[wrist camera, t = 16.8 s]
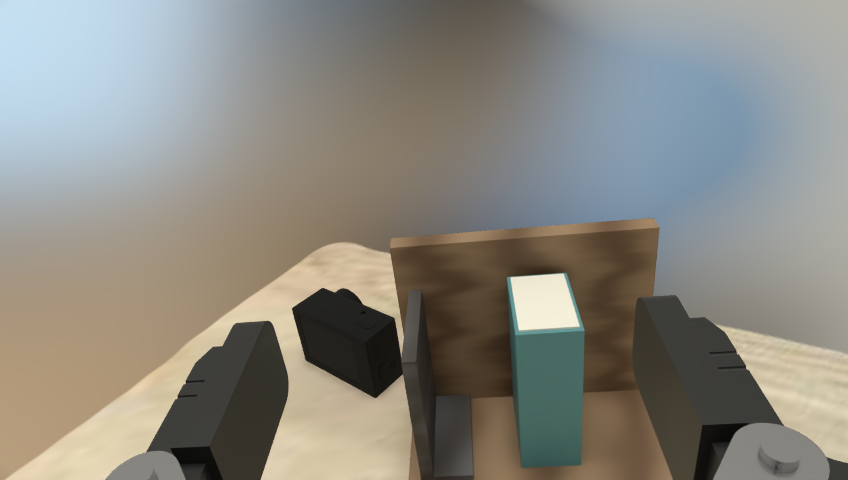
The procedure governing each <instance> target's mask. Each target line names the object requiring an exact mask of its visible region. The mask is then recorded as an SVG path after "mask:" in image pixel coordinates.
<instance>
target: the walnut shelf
mask: <svg viewBox="0 0 848 480" xmlns="http://www.w3.org/2000/svg"><path fill="white" fill-rule="evenodd" d="M658 237H659V226H658V224H657V223H656V221H655V220H654V218H647V219H635V220H621V221H609V222H595V223H582V224H569V225H556V226H544V227H531V228H519V229H505V230H493V231H480V232H466V233H455V234H454V233H453V234H440V235H429V236H415V237H402V238H392V239H391V244H390V253H391V259H392V265H393V271H394V277H395V284H396V290H397V296H398V302H399V308H400V314H401V320H402V327H403V333H404V342H403V351H402V360H401V364H402V370H403V376H404V382H405V388H406V394H407V399H408V405H409V411H410V417H411V423H412V429H413V430H412V444H411V457H410V470H409V480H673V478H672V476H671V473H670V470H669V468H668V465H667V462H666V460H665V457H664V455H663V452H662V449H661V447H660V444H659V441H658V439H657V436H656V433H655V431H654V428H653V426H652V423H651V420H650V418H649V415H648V412H647V410H646V407H645V405H644V402H643V399H642V397H641V394H640V391H639V389H638V386H637V383H636V380H635V377H634V372H633V364H632V347H633V334H634V321H635V308H636V302H637V299H638V298H639V297H653V289H654V280H655V269H656V259H657V248H658ZM557 273H567V276H568V279H569V283H570V286H571V289H572V292H573V295H574V299H575V302H576V305H577V308H578V312H579V315H580V318H581V321H582V324H583V328H584V331H585V332H584V370H583V408H582V446H581V465H577V466H554V467H531V468H522V467H521V459H520V451H519V443H518V435H517V427H516V419H515V411H514V403H513V387H512V368H511V348H510V329H509V310H508V290H507V277H516V276H530V275H543V274H557Z"/></svg>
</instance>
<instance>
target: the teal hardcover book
mask: <svg viewBox="0 0 848 480" xmlns="http://www.w3.org/2000/svg"><path fill="white" fill-rule="evenodd" d="M507 290H508V310H509V329H510V348H511V368H512V387H513V403H514V411H515V419H516V427H517V435H518V443H519V451H520V459H521V467H522V468H531V467H554V466H577V465H581V446H582V408H583V370H584V332H585V331H584V328H583V324H582V321H581V318H580V315H579V312H578V308H577V305H576V302H575V299H574V295H573V292H572V289H571V286H570V283H569V279H568V276H567V273H557V274H543V275H530V276H516V277H507Z"/></svg>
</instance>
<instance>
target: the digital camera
mask: <svg viewBox="0 0 848 480" xmlns="http://www.w3.org/2000/svg"><path fill="white" fill-rule="evenodd" d="M292 311H293V315H294V319H295V322H296V326H297V329H298V333H299V337H300V340H301V344H302V348H303V351H304V355H305V359H306V361H308V362H310V363H312V364H314V365H316V366H317V367H319V368H321V369H323V370H325V371H327V372H328V373H330V374H332V375H334V376H336V377H338V378H339V379H341V380H343V381H345V382H347V383H349V384H351V385H352V386H354V387H356V388H358V389H360V390H362V391H363V392H365V393H367V394H369V395H371V396H373V397H374V398H377V397H378V396H379V395H380V394H381V393H382V392H383V391H384V390H385V389H386V388H388V387H389V386H390V385H391V384H392V383H393V382H394V381H395V380H396V379H398V378H399V377H400V376H401V375H402V374H403V370H402V364H401V353H400V347H399V341H398V335H397V329H396V323H395V318H393V317H391V316H388V315H386V314H384V313H381V312H379V311H377V310H374V309H372V308H370V307H367V306H365V305H363V304H362V302H361V301H360V299H359V298H358V297H357V296H356V295H355V294H354V293H353V292H351V291H350V290H348V289H344V288H343V289H339V290H338V291H337V292H335V293H334V292H332V291H329V290H327V289H324V288H321V289H320V290H319V291H317V292H316V293H314V294H313V295H311V296H310V297H308V298H307V299H305V300H304V301H302V302H301V303H299V304H298V305H296V306H294V307H293V308H292ZM376 389H377V390H376ZM377 394H378V395H377Z"/></svg>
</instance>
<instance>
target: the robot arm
mask: <svg viewBox="0 0 848 480" xmlns="http://www.w3.org/2000/svg"><path fill="white" fill-rule="evenodd" d="M632 364H633V372H634V377H635V380H636V383H637V386H638V389H639V391H640V394H641V397H642V399H643V402H644V405H645V407H646V410H647V412H648V415H649V418H650V420H651V423H652V426H653V428H654V431H655V433H656V436H657V439H658V441H659V444H660V447H661V449H662V452H663V455H664V457H665V460H666V462H667V465H668V468H669V470H670V473H671V476H672V478H673V480H848V463H844V462H840V461H836V460H833V459H830V458H827V457H826V456H825V455H824V453H823V452H822V450H821V449H820V448H819V447H818V446H817V445H816V444H815V443H814V442H813V441H812V440H810V439H809V438H807V437H806V436H804V435H803V434H801V433H799V432H797V431H795V430H793V429H790V428H788V427H785V426H784V425H783V424H782V422H781V421H780V419H779V417H778V416H777V414H776V413H775V411H774V409H773V408H772V406H771V405H770V403H769V402H768V400H767V398H766V397H765V395H764V394H763V392H762V390H761V389H760V387H759V386H758V384H757V382H756V381H755V379H754V378H753V376H752V375H751V373H750V371H749V370H747V369H746V365H745V363H744V362H743V360H742V359H741V357H740V355H739V354H738V355H737V352H736V349H735V348H734V346H733V344H732V343H731V341H730V340H729V338H728V336H727V335H726V333H725V332H724V331H722V330H721V329H720V328H718V327H717V326H716V325H714V324H713V323H711V322H710V321H709V320H708V319H706V318H705V317H703V318H689V316H688V315H687V313H686V311H685V310H684V308H683V306H682V304H681V302H680V300H679V299H678V297H677V296H675V295H670V296H654V297H639V298H638V299H637V302H636V308H635V321H634V334H633V347H632ZM287 397H288V374H287V370H286V367H285V363H284V360H283V357H282V353H281V350H280V346H279V343H278V340H277V336H276V333H275V330H274V327H273V325H272V323H271V322H270V321H259V322H244V323H236V324H234V325H233V327H232V329H231V331H230V333H229V335H228V337H227V338H226V340H225V342H224V344H223V346H220V347H212V348H211V349H210V350H209V351H208V352H207V353H206V354H205V355H204V356H203V357H202V358H201V359H199V360H198V361H197V362H196V363H195V365H194V367H193V369H192V370H191V372H190V374H189V376H188V378H187V379H186V384H185V385H183V387H182V388H181V390H180V392H179V394H178V399H175V401H174V403H173V405H172V406H171V408H170V410H169V412H168V414H167V416H166V417H165V419H164V421H163V423H162V425H161V426H160V428H159V430H158V432H157V434H156V435H155V437H154V439H153V441H152V443H151V444H150V446H149V448H148V450H147V452H146V453H142V454H139V455H137V456H135V457H132V458H130V459H129V460H127V461H125V462H124V463H122V464H121V465H119V466H118V467H117V468H116V469H115V470H114V471H113V472H112V473H111V474H110V475H109V476H108V477H107V478H106V480H261V477H262V474H263V471H264V468H265V465H266V462H267V459H268V455H269V452H270V449H271V446H272V443H273V440H274V437H275V434H276V431H277V428H278V425H279V422H280V419H281V416H282V413H283V410H284V407H285V404H286V401H287Z"/></svg>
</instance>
